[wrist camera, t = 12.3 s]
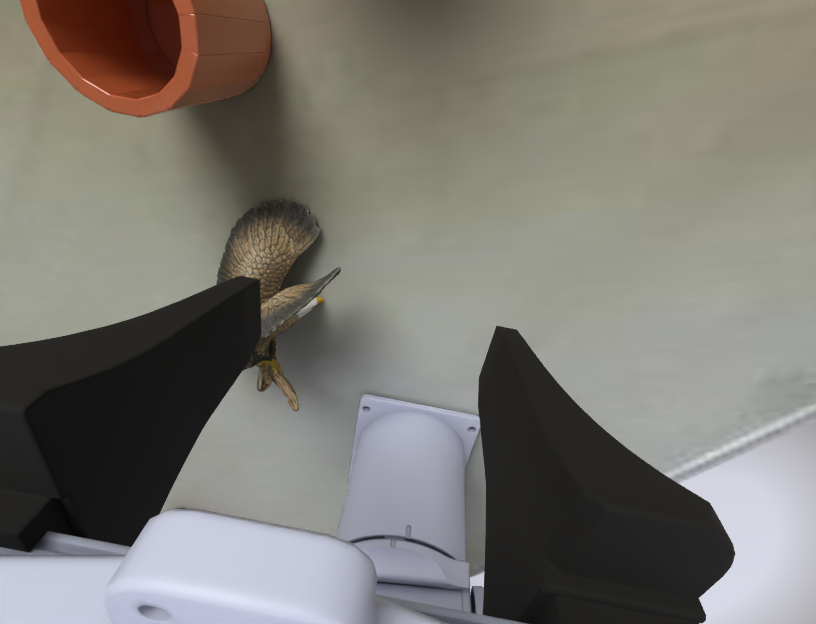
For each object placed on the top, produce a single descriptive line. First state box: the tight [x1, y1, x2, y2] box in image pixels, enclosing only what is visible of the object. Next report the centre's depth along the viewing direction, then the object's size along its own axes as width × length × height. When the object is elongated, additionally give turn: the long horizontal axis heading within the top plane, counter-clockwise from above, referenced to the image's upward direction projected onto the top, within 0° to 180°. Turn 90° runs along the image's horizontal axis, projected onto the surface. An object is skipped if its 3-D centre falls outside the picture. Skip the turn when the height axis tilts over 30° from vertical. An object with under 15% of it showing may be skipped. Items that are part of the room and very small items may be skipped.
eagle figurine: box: [217, 199, 341, 411], centre depth 21 cm, size 8×7×9 cm
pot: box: [20, 0, 271, 117], centre depth 15 cm, size 5×5×6 cm
